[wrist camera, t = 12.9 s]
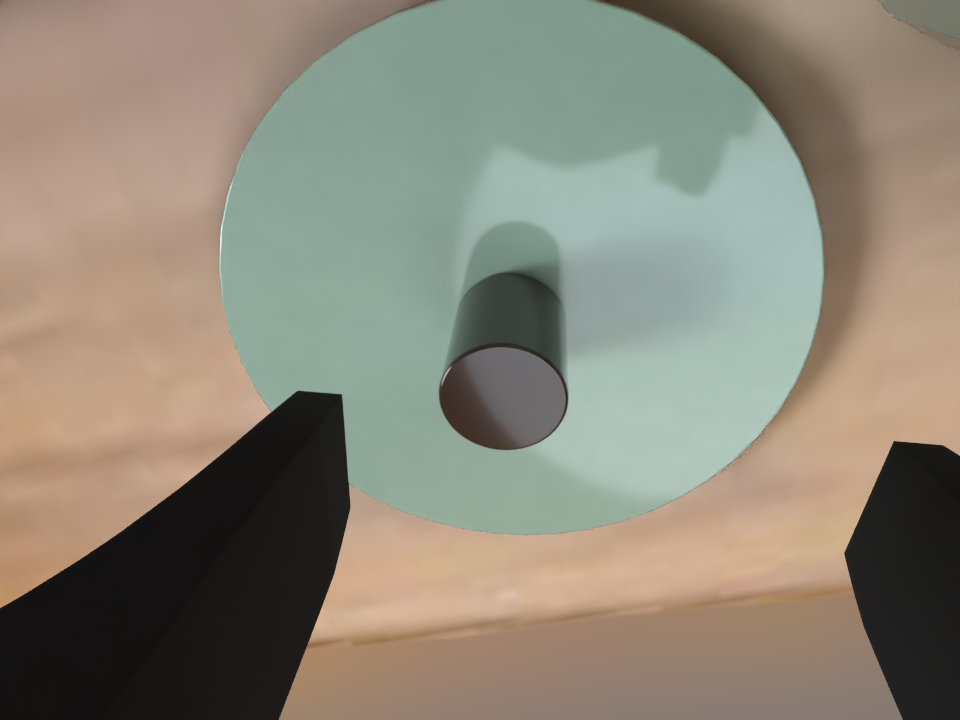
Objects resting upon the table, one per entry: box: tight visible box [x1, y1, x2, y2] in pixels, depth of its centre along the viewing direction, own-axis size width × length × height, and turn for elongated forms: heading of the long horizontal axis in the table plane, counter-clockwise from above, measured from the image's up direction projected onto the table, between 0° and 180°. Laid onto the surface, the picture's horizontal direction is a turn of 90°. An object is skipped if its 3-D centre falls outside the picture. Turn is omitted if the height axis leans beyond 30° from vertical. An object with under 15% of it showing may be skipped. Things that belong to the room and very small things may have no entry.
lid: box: [219, 0, 825, 535], centre depth 16 cm, size 14×14×4 cm
